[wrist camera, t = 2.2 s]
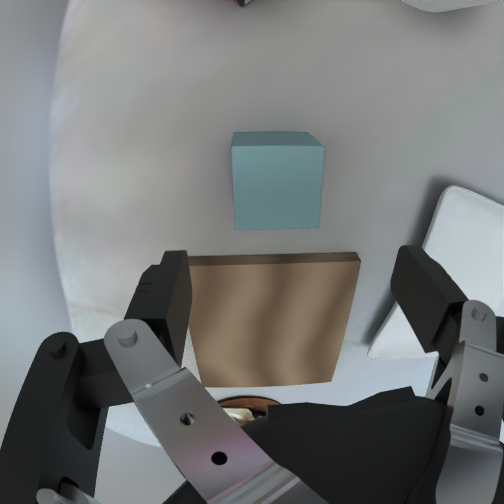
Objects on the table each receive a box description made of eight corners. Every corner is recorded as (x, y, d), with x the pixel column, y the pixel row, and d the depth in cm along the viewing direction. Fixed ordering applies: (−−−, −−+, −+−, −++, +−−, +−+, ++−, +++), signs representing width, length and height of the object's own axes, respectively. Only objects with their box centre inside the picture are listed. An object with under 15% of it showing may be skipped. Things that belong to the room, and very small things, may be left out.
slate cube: (306, 131, 22) (324, 146, 17) (304, 198, 25) (318, 228, 20) (234, 132, 22) (231, 146, 17) (236, 199, 25) (234, 230, 20)
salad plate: (472, 338, 37) (482, 353, 34) (357, 341, 35) (364, 362, 32) (539, 213, 26) (555, 226, 23) (427, 169, 24) (448, 182, 21)
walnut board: (356, 252, 28) (361, 261, 26) (329, 372, 37) (331, 381, 36) (180, 256, 28) (177, 266, 26) (203, 377, 37) (202, 387, 36)
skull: (186, 423, 42) (207, 455, 33) (218, 369, 45) (246, 390, 36) (246, 445, 46) (276, 474, 37) (275, 396, 49) (310, 417, 40)
